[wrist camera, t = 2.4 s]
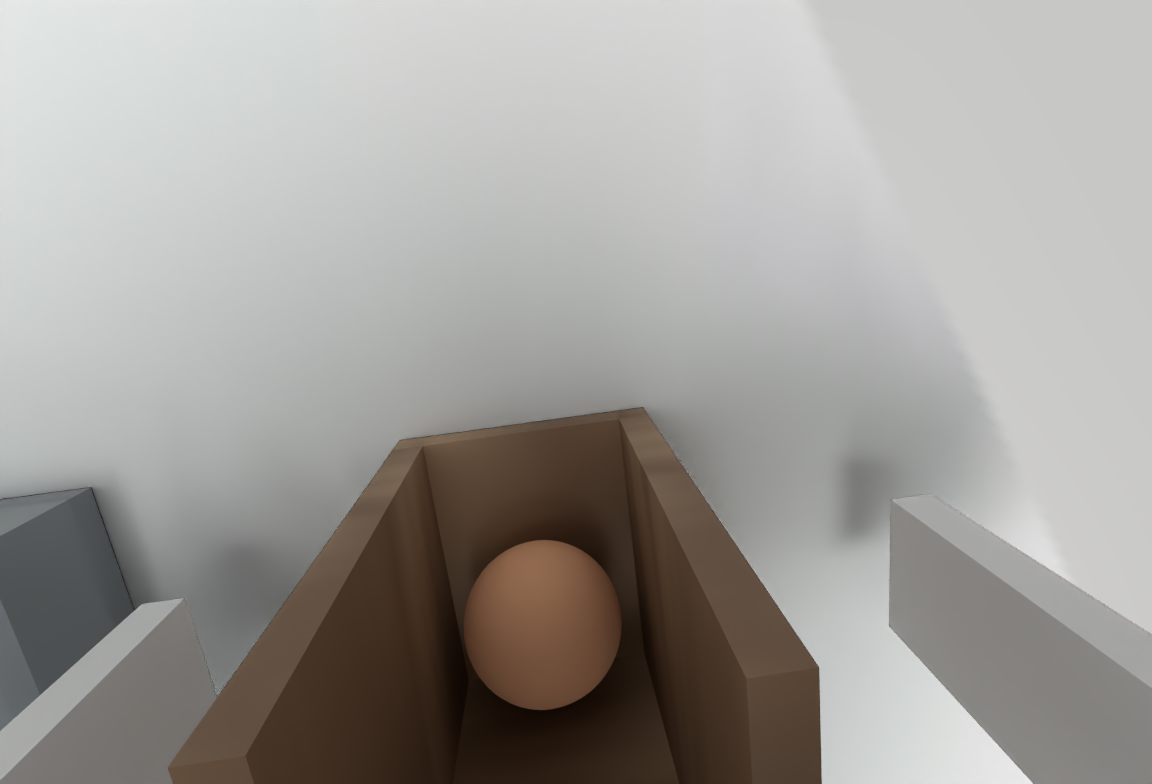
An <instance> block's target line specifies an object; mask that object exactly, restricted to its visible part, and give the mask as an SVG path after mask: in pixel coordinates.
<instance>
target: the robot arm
mask: <svg viewBox="0 0 1152 784" xmlns="http://www.w3.org/2000/svg"><path fill="white" fill-rule="evenodd" d="M889 627H890V628H891V629H892V630H893V631H894V632H895V633H896V634H897V635H898V636H899V638H900V639H901V640H902V641H903V642H904V643H905V644H906V645H907V646H908V647H909V648H910V650H911V651H912V652H913V653H914V654H915V655H916V656H917V657H918V658H919V659H920V660H921V662H922V663H923V664H924V665H925V666H926V667H927V668H928V669H929V670H930V671H931V672H932V674H933V675H934V676H935V677H936V678H937V679H938V680H939V681H940V682H941V683H942V684H943V686H944V687H945V688H946V689H947V690H948V691H949V692H950V693H951V694H952V695H953V696H954V698H955V699H956V700H957V701H958V702H959V703H960V704H961V705H962V706H963V707H964V708H965V710H966V711H967V712H968V713H969V714H970V715H971V716H972V717H973V718H974V719H975V720H976V722H977V723H978V724H979V725H980V726H981V727H982V728H983V729H984V730H985V731H986V732H987V733H988V735H989V736H990V737H991V738H992V739H993V740H994V741H995V742H996V743H997V744H998V745H999V747H1000V748H1001V749H1002V750H1003V751H1004V752H1005V753H1006V754H1007V755H1008V756H1009V757H1010V759H1011V760H1012V761H1013V762H1014V763H1015V764H1016V765H1017V766H1018V767H1019V768H1020V769H1021V771H1022V772H1023V773H1024V774H1025V775H1026V776H1027V777H1028V778H1029V779H1030V780H1031V781H1032V783H1033V784H1152V634H1150V633H1149V632H1147V631H1146V630H1144V629H1143V628H1141V627H1139V626H1138V625H1136V624H1134V623H1133V622H1132V621H1130V620H1128V619H1127V618H1125V617H1124V616H1122V615H1121V614H1119V613H1117V612H1116V611H1114V610H1113V609H1111V608H1109V607H1108V606H1106V605H1105V604H1103V603H1102V602H1100V601H1099V600H1097V599H1095V598H1094V597H1092V596H1091V595H1089V594H1087V593H1086V592H1084V591H1083V590H1081V589H1080V588H1078V587H1076V586H1075V585H1073V584H1072V583H1070V582H1069V581H1067V580H1065V579H1064V578H1062V577H1061V576H1059V575H1058V574H1056V573H1054V572H1053V571H1051V570H1050V569H1048V568H1047V567H1045V566H1043V565H1042V564H1040V563H1039V562H1037V561H1036V560H1034V559H1032V558H1031V557H1029V556H1028V555H1026V554H1025V553H1023V552H1021V551H1020V550H1018V549H1017V548H1015V547H1014V546H1012V545H1010V544H1009V543H1007V542H1006V541H1004V540H1003V539H1001V538H999V537H998V536H996V535H995V534H993V533H991V532H990V531H988V530H987V529H985V528H984V527H982V526H980V525H979V524H977V523H976V522H974V521H973V520H971V519H969V518H968V517H966V516H965V515H963V514H962V513H960V512H958V511H957V510H955V509H954V508H952V507H951V506H949V505H947V504H946V503H944V502H943V501H941V500H940V499H938V498H936V497H935V496H933V495H932V494H925V495H918V496H911V497H904V498H897V499H891V517H890V585H889ZM216 699H217V695H216V692H215V689H214V686H213V683H212V680H211V677H210V674H209V670H208V667H207V664H206V661H205V658H204V655H203V652H202V649H201V646H200V643H199V640H198V637H197V634H196V631H195V628H194V625H193V622H192V619H191V616H190V613H189V610H188V607H187V603H186V600H185V598H180V599H173V600H166V601H159V602H152V603H144V604H141V605H140V606H139V607H138V608H137V609H136V610H135V611H133V612H132V613H131V614H130V615H129V616H128V617H127V618H126V619H125V620H123V621H122V622H121V623H120V624H119V625H118V626H117V627H116V628H115V629H113V630H112V631H111V632H110V633H109V634H108V635H107V636H106V637H104V638H103V639H102V640H101V641H100V642H99V643H98V644H97V645H96V646H94V647H93V648H92V649H91V650H90V651H89V652H88V653H87V654H86V655H84V656H83V657H82V658H81V659H80V660H79V661H78V662H77V663H76V664H74V665H73V666H72V667H71V668H70V669H69V670H68V671H67V672H66V673H64V674H63V675H62V676H61V677H60V678H59V679H58V680H57V681H56V682H54V683H53V684H52V685H51V686H50V687H49V688H48V689H47V690H45V691H44V692H43V693H42V694H41V695H40V696H39V697H38V698H37V699H35V700H34V701H33V702H32V703H31V704H30V705H29V706H28V707H27V708H25V709H24V710H23V711H22V712H21V713H20V714H19V715H18V716H17V717H15V718H14V719H13V720H12V721H11V722H10V723H9V724H8V725H7V726H5V727H4V728H3V729H2V730H1V731H0V784H173V782H172V779H171V777H170V774H169V771H168V766H169V765H170V763H171V762H172V761H173V759H174V758H175V756H176V755H177V753H178V752H179V751H180V749H181V748H182V746H183V745H184V744H185V742H186V741H187V739H188V738H189V737H190V735H191V734H192V732H193V731H194V730H195V728H196V727H197V725H198V724H199V722H200V721H201V720H202V718H203V717H204V715H205V714H206V713H207V711H208V710H209V708H210V707H211V706H212V704H213V703H214V701H215V700H216Z"/></svg>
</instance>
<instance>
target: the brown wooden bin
mask: <svg viewBox="0 0 1152 784" xmlns="http://www.w3.org/2000/svg"><path fill="white" fill-rule="evenodd" d="M537 540H552V541H558V542H563V543H566V544H569V545H572V546H574V547H576V548H578V549H580V550H582V551H584V552H585V553H587V554H588V555H589V556H591V557H592V558H593V559H594V560H595V561H596V562H597V563H598V564H599V565H600V566H601V567H602V568H603V570H604V571H605V572H606V574H607V575H608V577H609V578H610V580H611V582H612V584H613V586H614V588H615V590H616V593H617V596H618V599H619V604H620V608H621V619H622V628H621V638H620V644H619V647H618V651H617V654H616V656H615V659H614V661H613V663H612V665H611V667H610V669H609V670H608V672H607V674H606V675H605V677H604V678H603V679H602V680H601V682H600V683H599V684H598V685H597V686H596V687H595V688H594V689H593V690H592V691H591V692H589V693H588V694H587V695H585V696H584V697H582V698H581V699H579V700H577V701H575V702H573V703H571V704H568V705H566V706H563V707H560V708H555V709H548V710H533V709H527V708H522V707H519V706H516V705H513V704H511V703H509V702H507V701H505V700H503V699H502V698H500V697H499V696H497V695H496V694H495V693H493V692H492V691H491V690H490V689H489V688H488V687H487V686H486V685H485V684H484V682H483V681H482V680H481V679H480V677H479V676H478V674H477V673H476V671H475V670H474V668H473V666H472V664H471V661H470V659H469V656H468V653H467V650H466V645H465V639H464V613H465V608H466V604H467V600H468V597H469V595H470V592H471V590H472V588H473V586H474V584H475V582H476V580H477V579H478V577H479V575H480V574H481V572H482V571H483V570H484V569H485V568H486V567H487V565H488V564H489V563H490V562H491V561H493V560H494V559H495V558H496V557H497V556H499V555H500V554H502V553H503V552H505V551H506V550H508V549H510V548H512V547H514V546H517V545H519V544H522V543H526V542H530V541H537ZM168 771H169V774H170V777H171V779H172V782H173V784H822V781H821V736H820V691H819V667H818V665H817V664H816V662H815V661H814V659H813V658H812V656H811V655H810V653H809V652H808V650H807V649H806V647H805V646H804V645H803V643H802V642H801V640H800V639H799V637H798V636H797V634H796V633H795V631H794V630H793V628H792V627H791V625H790V624H789V622H788V621H787V619H786V618H785V616H784V615H783V614H782V612H781V611H780V609H779V608H778V606H777V605H776V603H775V602H774V600H773V599H772V597H771V596H770V594H769V593H768V591H767V590H766V588H765V587H764V585H763V584H762V583H761V581H760V580H759V578H758V577H757V575H756V574H755V572H754V571H753V569H752V568H751V566H750V565H749V563H748V562H747V560H746V559H745V557H744V556H743V554H742V553H741V552H740V550H739V549H738V547H737V546H736V544H735V543H734V541H733V540H732V538H731V537H730V535H729V534H728V532H727V531H726V529H725V528H724V526H723V525H722V523H721V522H720V521H719V519H718V518H717V516H716V515H715V513H714V512H713V510H712V509H711V507H710V506H709V504H708V503H707V501H706V500H705V498H704V497H703V495H702V494H701V492H700V491H699V490H698V488H697V487H696V485H695V484H694V482H693V481H692V479H691V478H690V476H689V475H688V473H687V472H686V470H685V469H684V467H683V466H682V464H681V463H680V461H679V460H678V459H677V457H676V456H675V454H674V453H673V451H672V450H671V448H670V447H669V445H668V444H667V442H666V441H665V439H664V438H663V436H662V435H661V433H660V432H659V430H658V429H657V427H656V426H655V425H654V423H653V422H652V420H651V419H650V417H649V416H648V414H647V413H646V411H645V410H644V408H643V407H642V408H635V409H627V410H620V411H613V412H605V413H598V414H591V415H583V416H576V417H569V418H561V419H554V420H547V421H539V422H532V423H524V424H517V425H510V426H502V427H495V428H488V429H480V430H473V431H466V432H458V433H451V434H444V435H436V436H429V437H422V438H414V439H407V440H400V441H399V442H398V443H397V445H396V446H395V448H394V449H393V450H392V452H391V453H390V455H389V456H388V457H387V459H386V460H385V462H384V463H383V465H382V466H381V467H380V469H379V470H378V472H377V473H376V474H375V476H374V477H373V479H372V480H371V481H370V483H369V484H368V486H367V487H366V488H365V490H364V491H363V493H362V494H361V496H360V497H359V498H358V500H357V501H356V503H355V504H354V505H353V507H352V508H351V510H350V511H349V512H348V514H347V515H346V517H345V518H344V519H343V521H342V522H341V524H340V525H339V527H338V528H337V529H336V531H335V532H334V534H333V535H332V536H331V538H330V539H329V541H328V542H327V543H326V545H325V546H324V548H323V549H322V551H321V552H320V553H319V555H318V556H317V558H316V559H315V560H314V562H313V563H312V565H311V566H310V567H309V569H308V570H307V572H306V573H305V574H304V576H303V577H302V579H301V580H300V582H299V583H298V584H297V586H296V587H295V589H294V590H293V591H292V593H291V594H290V596H289V597H288V598H287V600H286V601H285V603H284V604H283V605H282V607H281V608H280V610H279V611H278V613H277V614H276V615H275V617H274V618H273V620H272V621H271V622H270V624H269V625H268V627H267V628H266V629H265V631H264V632H263V634H262V635H261V636H260V638H259V639H258V641H257V642H256V644H255V645H254V646H253V648H252V649H251V651H250V652H249V653H248V655H247V656H246V658H245V659H244V660H243V662H242V663H241V665H240V666H239V668H238V669H237V670H236V672H235V673H234V675H233V676H232V677H231V679H230V680H229V682H228V683H227V684H226V686H225V687H224V689H223V690H222V691H221V693H220V694H219V696H218V697H217V699H216V700H215V701H214V703H213V704H212V706H211V707H210V708H209V710H208V711H207V713H206V714H205V715H204V717H203V718H202V720H201V721H200V722H199V724H198V725H197V727H196V728H195V730H194V731H193V732H192V734H191V735H190V737H189V738H188V739H187V741H186V742H185V744H184V745H183V746H182V748H181V749H180V751H179V752H178V753H177V755H176V756H175V758H174V759H173V761H172V762H171V763H170V765H169V766H168Z"/></svg>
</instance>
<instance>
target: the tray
mask: <svg viewBox="0 0 1152 784" xmlns="http://www.w3.org/2000/svg"><path fill="white" fill-rule="evenodd" d="M133 611H134V609H133V606H132V604H131V601H130V598H129V595H128V592H127V589H126V587H125V584H124V581H123V578H122V575H121V572H120V570H119V567H118V564H117V561H116V558H115V555H114V552H113V550H112V547H111V544H110V541H109V538H108V535H107V533H106V530H105V527H104V524H103V521H102V518H101V516H100V513H99V510H98V507H97V504H96V501H95V498H94V496H93V493H92V490H91V488H83V489H76V490H69V491H61V492H54V493H47V494H39V495H32V496H25V497H17V498H10V499H3V500H0V731H1V730H2V729H3V728H4V727H5V726H7V725H8V724H9V723H10V722H11V721H12V720H13V719H14V718H15V717H17V716H18V715H19V714H20V713H21V712H22V711H23V710H24V709H25V708H27V707H28V706H29V705H30V704H31V703H32V702H33V701H34V700H35V699H37V698H38V697H39V696H40V695H41V694H42V693H43V692H44V691H45V690H47V689H48V688H49V687H50V686H51V685H52V684H53V683H54V682H56V681H57V680H58V679H59V678H60V677H61V676H62V675H63V674H64V673H66V672H67V671H68V670H69V669H70V668H71V667H72V666H73V665H74V664H76V663H77V662H78V661H79V660H80V659H81V658H82V657H83V656H84V655H86V654H87V653H88V652H89V651H90V650H91V649H92V648H93V647H94V646H96V645H97V644H98V643H99V642H100V641H101V640H102V639H103V638H104V637H106V636H107V635H108V634H109V633H110V632H111V631H112V630H113V629H115V628H116V627H117V626H118V625H119V624H120V623H121V622H122V621H123V620H125V619H126V618H127V617H128V616H129V615H130V614H131V613H132V612H133Z"/></svg>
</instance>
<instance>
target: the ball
mask: <svg viewBox="0 0 1152 784" xmlns="http://www.w3.org/2000/svg"><path fill="white" fill-rule="evenodd" d="M621 628H622V619H621V608H620V604H619V599H618V596H617V593H616V590H615V588H614V586H613V584H612V582H611V580H610V578H609V577H608V575H607V574H606V572H605V571H604V570H603V568H602V567H601V566H600V565H599V564H598V563H597V562H596V561H595V560H594V559H593V558H592V557H591V556H589V555H588V554H587V553H585V552H584V551H582V550H580V549H578V548H576V547H574V546H572V545H569V544H566V543H563V542H558V541H552V540H537V541H530V542H526V543H522V544H519V545H517V546H514V547H512V548H510V549H508V550H506V551H505V552H503V553H502V554H500V555H499V556H497V557H496V558H495V559H494V560H493V561H491V562H490V563H489V564H488V565H487V567H486V568H485V569H484V570H483V571H482V572H481V574H480V575H479V577H478V579H477V580H476V582H475V584H474V586H473V588H472V590H471V592H470V595H469V597H468V600H467V604H466V608H465V613H464V639H465V645H466V650H467V653H468V656H469V659H470V661H471V664H472V666H473V668H474V670H475V671H476V673H477V674H478V676H479V677H480V679H481V680H482V681H483V682H484V684H485V685H486V686H487V687H488V688H489V689H490V690H491V691H492V692H493V693H495V694H496V695H497V696H499V697H500V698H502V699H503V700H505V701H507V702H509V703H511V704H513V705H516V706H519V707H522V708H527V709H533V710H548V709H555V708H560V707H563V706H566V705H568V704H571V703H573V702H575V701H577V700H579V699H581V698H582V697H584V696H585V695H587V694H588V693H589V692H591V691H592V690H593V689H594V688H595V687H596V686H597V685H598V684H599V683H600V682H601V680H602V679H603V678H604V677H605V675H606V674H607V672H608V670H609V669H610V667H611V665H612V663H613V661H614V659H615V656H616V654H617V651H618V647H619V644H620V638H621Z"/></svg>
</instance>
